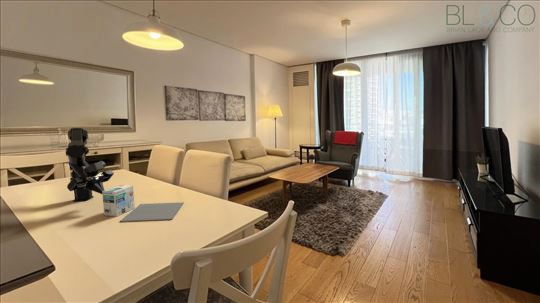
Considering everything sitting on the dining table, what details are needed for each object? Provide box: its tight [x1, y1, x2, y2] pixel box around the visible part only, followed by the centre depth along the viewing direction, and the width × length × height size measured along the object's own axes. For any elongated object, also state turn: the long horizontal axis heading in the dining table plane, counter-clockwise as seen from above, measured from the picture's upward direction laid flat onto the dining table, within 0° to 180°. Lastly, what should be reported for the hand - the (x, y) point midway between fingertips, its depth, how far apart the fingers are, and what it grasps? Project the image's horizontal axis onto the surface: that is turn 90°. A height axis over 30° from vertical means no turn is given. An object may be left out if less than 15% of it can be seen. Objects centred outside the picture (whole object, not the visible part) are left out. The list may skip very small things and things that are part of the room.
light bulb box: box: [101, 184, 136, 217], centre depth 109 cm, size 11×7×11 cm, turn 168°
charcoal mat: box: [119, 201, 185, 223], centre depth 109 cm, size 20×20×1 cm
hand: (103, 193), depth 111 cm, fingers closed
